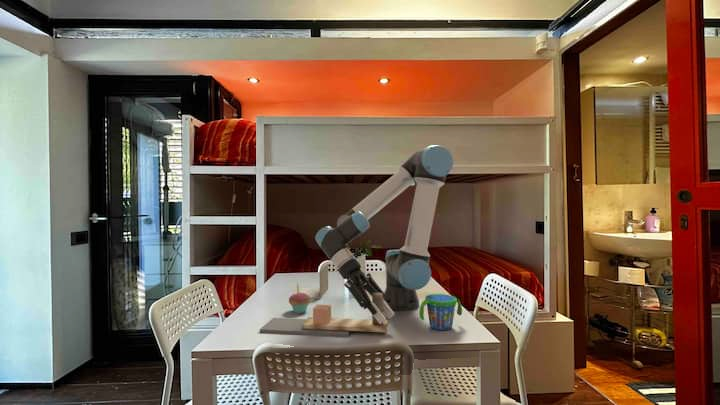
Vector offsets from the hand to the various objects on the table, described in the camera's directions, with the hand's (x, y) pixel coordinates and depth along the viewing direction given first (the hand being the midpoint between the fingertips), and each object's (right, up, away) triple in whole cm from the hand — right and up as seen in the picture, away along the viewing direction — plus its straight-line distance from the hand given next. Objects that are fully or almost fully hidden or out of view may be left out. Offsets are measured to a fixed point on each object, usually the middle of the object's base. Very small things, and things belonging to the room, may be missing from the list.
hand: (387, 319), depth 123 cm
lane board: (-27, -5, +6) cm, 28 cm away
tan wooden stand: (-14, -4, +4) cm, 15 cm away
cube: (-22, -2, +5) cm, 22 cm away
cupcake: (-33, -5, +25) cm, 42 cm away
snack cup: (+19, -5, +6) cm, 20 cm away
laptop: (-32, -5, +51) cm, 60 cm away
